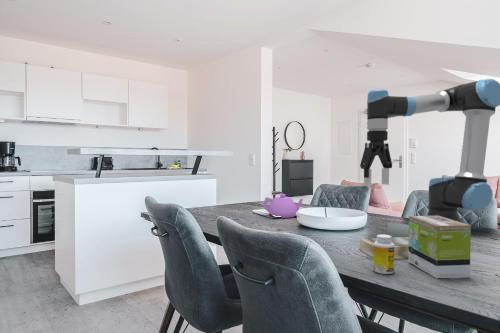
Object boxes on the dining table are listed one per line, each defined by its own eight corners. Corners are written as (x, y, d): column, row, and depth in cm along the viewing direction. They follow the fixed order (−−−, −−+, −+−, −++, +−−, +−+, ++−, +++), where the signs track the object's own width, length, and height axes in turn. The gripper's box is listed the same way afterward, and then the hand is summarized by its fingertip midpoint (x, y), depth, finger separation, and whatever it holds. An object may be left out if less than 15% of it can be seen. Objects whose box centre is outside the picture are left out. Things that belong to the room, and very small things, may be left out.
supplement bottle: (389, 276, 99) (390, 239, 99) (370, 271, 103) (370, 236, 102) (396, 271, 103) (397, 235, 103) (377, 267, 107) (378, 232, 107)
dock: (407, 248, 129) (407, 236, 129) (429, 257, 117) (429, 244, 117) (359, 250, 126) (360, 237, 126) (377, 259, 115) (377, 246, 114)
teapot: (261, 218, 192) (261, 195, 191) (263, 213, 207) (263, 192, 207) (303, 219, 189) (303, 196, 189) (302, 214, 204) (303, 193, 204)
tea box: (406, 263, 112) (407, 215, 111) (438, 262, 112) (438, 214, 112) (435, 279, 97) (436, 224, 96) (471, 278, 97) (472, 223, 97)
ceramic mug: (410, 246, 132) (410, 225, 132) (386, 243, 136) (386, 223, 136) (412, 240, 141) (412, 221, 141) (389, 238, 145) (390, 219, 145)
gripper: (384, 132, 151) (383, 183, 152) (350, 129, 135) (350, 186, 135) (401, 131, 146) (400, 184, 147) (369, 128, 129) (368, 187, 130)
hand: (376, 185), depth 141 cm, fingers open, 13 cm apart
